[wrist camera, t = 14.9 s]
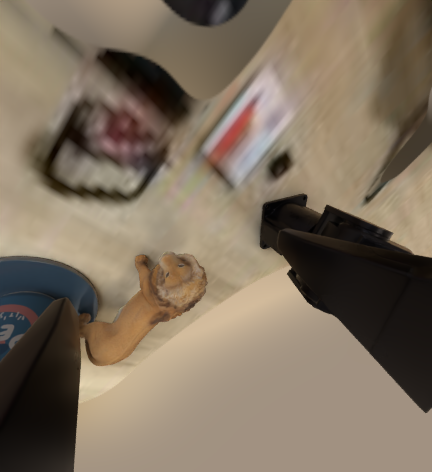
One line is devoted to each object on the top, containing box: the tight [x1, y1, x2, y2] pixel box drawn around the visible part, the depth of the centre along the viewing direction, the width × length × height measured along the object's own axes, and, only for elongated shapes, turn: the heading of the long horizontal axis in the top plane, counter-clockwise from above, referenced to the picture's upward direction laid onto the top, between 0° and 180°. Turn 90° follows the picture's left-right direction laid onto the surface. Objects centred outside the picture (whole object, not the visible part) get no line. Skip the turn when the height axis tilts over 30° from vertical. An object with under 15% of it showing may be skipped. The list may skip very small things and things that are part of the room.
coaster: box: [0, 256, 98, 324], centre depth 20 cm, size 12×12×1 cm
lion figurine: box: [78, 252, 208, 366], centre depth 20 cm, size 15×5×9 cm, turn 134°
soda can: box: [0, 291, 55, 361], centre depth 15 cm, size 7×7×12 cm
